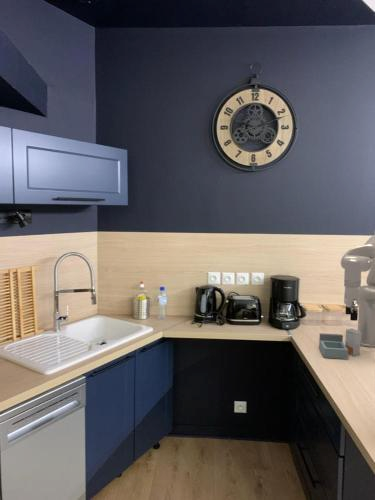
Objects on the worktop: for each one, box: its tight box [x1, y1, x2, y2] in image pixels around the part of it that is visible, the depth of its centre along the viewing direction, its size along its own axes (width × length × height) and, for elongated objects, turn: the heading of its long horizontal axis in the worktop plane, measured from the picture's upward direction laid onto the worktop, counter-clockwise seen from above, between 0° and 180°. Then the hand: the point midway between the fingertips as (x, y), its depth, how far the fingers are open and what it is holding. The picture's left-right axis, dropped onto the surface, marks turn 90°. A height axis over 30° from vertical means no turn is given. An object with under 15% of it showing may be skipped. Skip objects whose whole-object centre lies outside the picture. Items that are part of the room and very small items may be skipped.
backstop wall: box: [318, 332, 344, 350], centre depth 200 cm, size 2×11×8 cm, turn 81°
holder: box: [319, 340, 349, 360], centre depth 194 cm, size 12×11×4 cm
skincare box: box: [344, 328, 361, 357], centre depth 195 cm, size 6×4×12 cm
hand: (351, 317), depth 192 cm, fingers open, 9 cm apart
